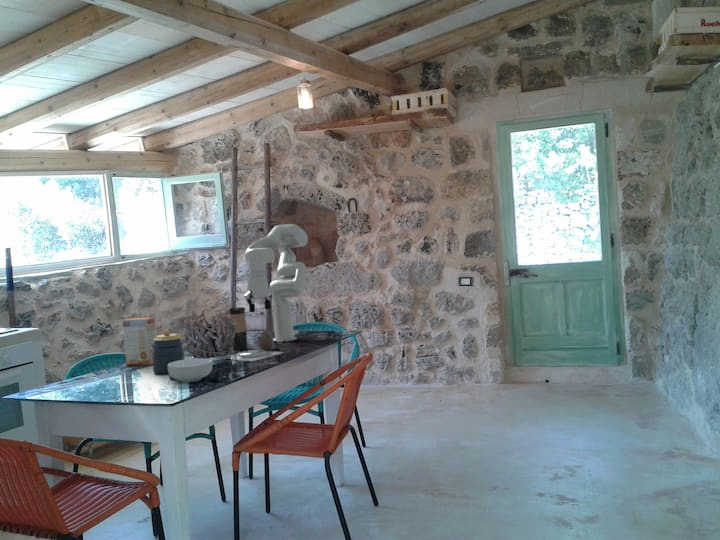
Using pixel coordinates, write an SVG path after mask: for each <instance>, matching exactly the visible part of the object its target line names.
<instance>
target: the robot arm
mask: <svg viewBox="0 0 720 540" xmlns="http://www.w3.org/2000/svg"><path fill="white" fill-rule="evenodd" d="M308 238H309V237H308V234H307V233H306V231H305V230H304V229H302V228H301V227H300V226H299V225H297V224H295V223H287V224H278V225H275V226H273V228H272V229H271V230H270V231H269V233H268V234H267V235H266V236H265V237H262V238H260V239H257V240H256V241H254V242H253V243H251V244H250V245H249V246H248V247H247V248H246V251H245V253H244V254H245V255H244V258H245V261H246V263H248V275H249V276H248V277H249V278H248V279H247V289H246V290H247V292H246V293H245V294H244V295H243V297H244V300H245V301H246V303H247V304H248V308H249V313H255V312H256V308H255V307H256V306H255V301H256V300H259V299H263V300H264V309H265V310H271V302H272V312H273V313H272V314H273V315H272V316H273V328H274V337H272V338H273V342H274V341H276V342H277V343H283V341H286V342H291V341H292V342H293V341H295V340H297V338H298V337H297V336H295V335H299V333H300V331H299V330H298V329H297V330H296V329H295V330H294V327H293V326H294V325H293V324H294V323H293V313H292V304H291V302H290V301H289V300H288V298H299V297H301V296H302V295H303V293H304V289H305V286H306V285H305V284H306V279H307V275H308V270H307V269H308V268H307V266H306V264H305V263H304V262H302V261H297V257H296V255H295V253H294V252H293V251H292V250H291V249H290V248H299V247H305V246H306V245H307V244H308V240H309V239H308ZM277 250H278V253H279V260H278V266H277V268H276V278H277V279H275V280H272V281H271V282H270V284H269V283H268V278H267V277H266V274H267V271H266V266H265V265H266V264H271V262H273V261H274V260H275V257H276V252H275V251H277Z"/></svg>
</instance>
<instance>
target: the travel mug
mask: <svg viewBox="0 0 720 540" xmlns="http://www.w3.org/2000/svg"><path fill="white" fill-rule="evenodd" d="M228 312H229V313H228V314H229V319H230V318H231V319H232V320H233V321H234V322H235V323H237V330H236V332H235V337H234V345H233V349H232V351H243V350H242V349H244V350H247V349H248V336H247V335H248V334H247V321H246V312H245V307H230V308H229V309H228ZM246 348H247V349H246Z"/></svg>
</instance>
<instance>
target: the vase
mask: <svg viewBox="0 0 720 540" xmlns="http://www.w3.org/2000/svg"><path fill="white" fill-rule="evenodd" d="M273 338H274V337H272V335H271V334H270V333H269V330H263V331H262V332H261V334H260V336H259V337H258V344H259V348H260V350H265V351H270V350H271V349H273V347H274V341H273ZM269 349H270V350H269Z"/></svg>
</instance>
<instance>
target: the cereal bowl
mask: <svg viewBox="0 0 720 540" xmlns="http://www.w3.org/2000/svg"><path fill="white" fill-rule="evenodd" d="M212 370H213V360H212V359H210V358H187V359H185V360H179V361H174V362H171V363H169V364H168V372H169V374H168V375H169V376H170V377H172V378H173V379H174V380H177V381H179V382H180V383H196V382H198V381H202V379H203V378H205V377H208V375H210V374H211V372H212Z"/></svg>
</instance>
